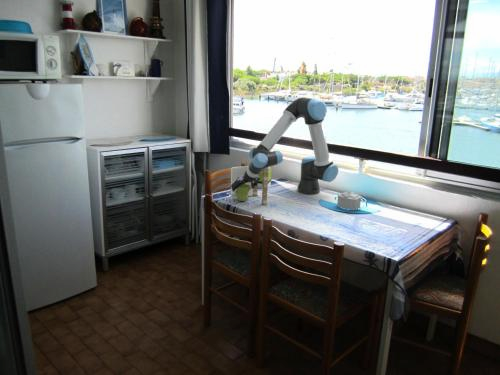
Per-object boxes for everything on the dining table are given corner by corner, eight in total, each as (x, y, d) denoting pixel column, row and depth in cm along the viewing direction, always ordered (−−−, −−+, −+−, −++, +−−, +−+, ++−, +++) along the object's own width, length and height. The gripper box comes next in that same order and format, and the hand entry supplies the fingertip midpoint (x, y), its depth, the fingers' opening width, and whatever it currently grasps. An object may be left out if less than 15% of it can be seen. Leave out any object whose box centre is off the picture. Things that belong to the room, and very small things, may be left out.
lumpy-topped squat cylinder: (353, 211, 234) (355, 197, 231) (333, 206, 242) (334, 192, 239) (361, 207, 241) (363, 193, 239) (342, 203, 249) (343, 189, 247)
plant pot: (248, 202, 243) (248, 188, 240) (232, 201, 244) (232, 187, 242) (251, 197, 251) (251, 184, 249) (236, 196, 253) (236, 183, 251)
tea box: (246, 187, 278) (246, 166, 274) (250, 183, 287) (251, 163, 283) (267, 189, 274) (268, 168, 270) (271, 185, 283) (271, 165, 279)
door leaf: (231, 198, 250) (231, 167, 245) (229, 196, 253) (229, 166, 247) (252, 195, 257) (253, 165, 251) (250, 194, 259) (251, 165, 254)
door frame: (266, 204, 242) (268, 164, 235) (263, 205, 241) (264, 165, 234) (256, 194, 261) (257, 157, 254) (252, 195, 260) (253, 157, 253)
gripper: (236, 180, 225) (225, 199, 243) (271, 176, 235) (257, 195, 253) (232, 168, 228) (221, 188, 246) (267, 165, 238) (253, 185, 256)
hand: (239, 192), depth 250 cm, fingers closed on plant pot, 9 cm apart
